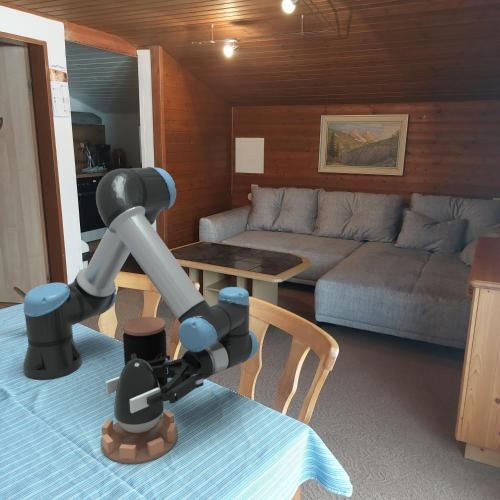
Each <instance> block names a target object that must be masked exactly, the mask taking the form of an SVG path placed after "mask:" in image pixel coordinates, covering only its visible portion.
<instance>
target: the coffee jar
mask: <svg viewBox="0 0 500 500" xmlns="http://www.w3.org/2000/svg"><path fill="white" fill-rule="evenodd" d="M165 328H166V321H165V320H164V319H163V318H160V317H156V316H140V317H135V318H134V317H133V318H132V319H129V320H127V321H125V322H124V323H123V324H122V331H123V332H124V333H123V334H122V341H123V342H122V343H123V344H122V345H123V357H124V366H125V365H126V364H127V363H128V362H129V361H131V355H132V354H136V357H137V359H143V360H145V361H151V360H155V359H159V358H162V357H164V356H167V355H168V354H167V350H168V349H167V333H166V329H165ZM166 374H168V369H166ZM157 380H158V383H159V386H160V389H161V386H165V385H166V384H167V383H168V382H169V378H167V379H164V378H163V377H160V378H157Z"/></svg>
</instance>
